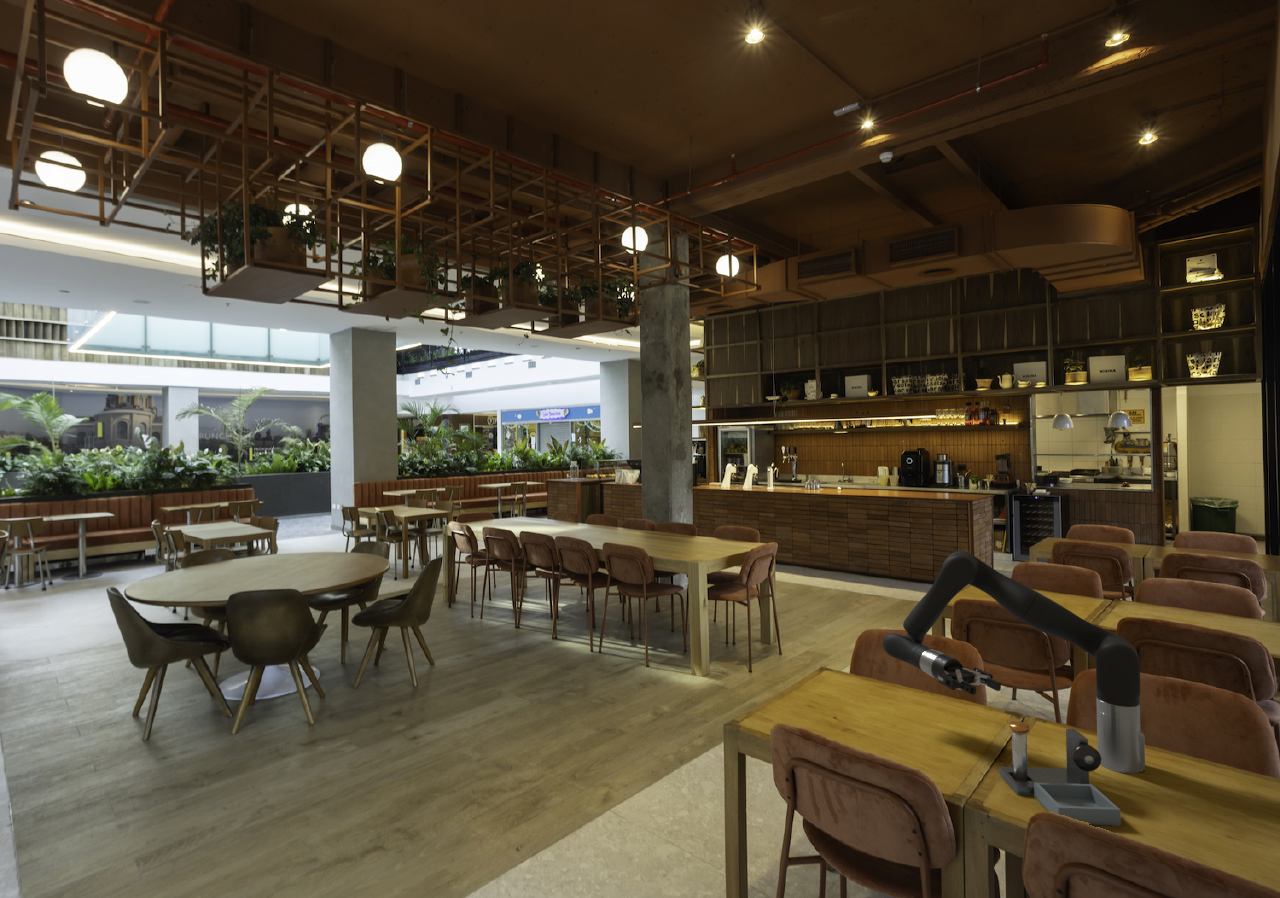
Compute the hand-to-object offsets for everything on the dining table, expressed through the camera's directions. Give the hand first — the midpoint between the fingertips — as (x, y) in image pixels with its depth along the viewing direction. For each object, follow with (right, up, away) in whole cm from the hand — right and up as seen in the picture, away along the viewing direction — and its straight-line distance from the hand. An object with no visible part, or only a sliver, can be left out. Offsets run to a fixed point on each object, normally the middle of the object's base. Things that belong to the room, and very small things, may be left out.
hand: (987, 689), depth 172 cm
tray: (+9, -20, -21) cm, 31 cm away
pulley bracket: (+9, -20, -10) cm, 24 cm away
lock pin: (+3, -21, -9) cm, 23 cm away
